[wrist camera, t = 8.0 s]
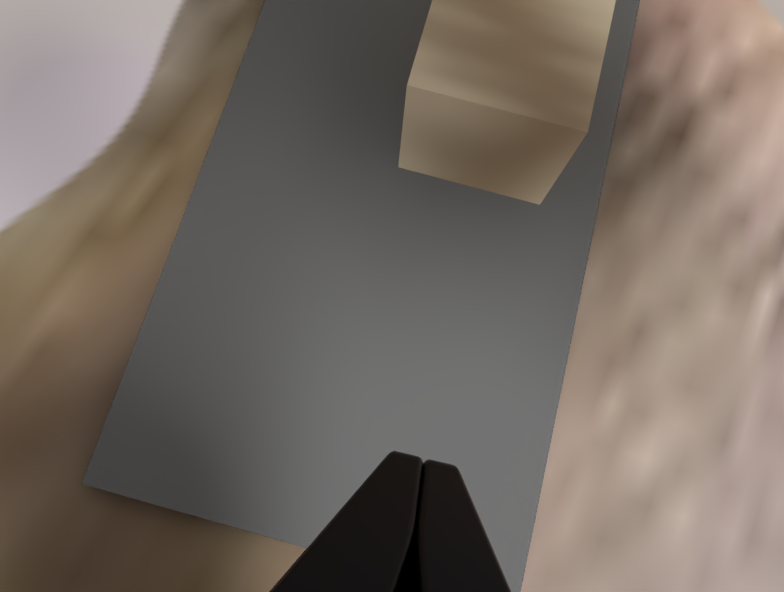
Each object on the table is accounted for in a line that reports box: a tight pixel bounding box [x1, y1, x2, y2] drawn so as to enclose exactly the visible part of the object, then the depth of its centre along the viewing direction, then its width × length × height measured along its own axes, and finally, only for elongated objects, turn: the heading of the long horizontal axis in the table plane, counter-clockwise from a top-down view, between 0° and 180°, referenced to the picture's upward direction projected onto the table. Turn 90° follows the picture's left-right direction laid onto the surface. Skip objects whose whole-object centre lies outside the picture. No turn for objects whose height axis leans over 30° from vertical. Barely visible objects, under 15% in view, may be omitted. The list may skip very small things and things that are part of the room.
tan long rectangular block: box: [398, 0, 616, 205], centre depth 19 cm, size 4×4×10 cm
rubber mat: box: [82, 0, 640, 592], centre depth 20 cm, size 12×20×1 cm, turn 165°
